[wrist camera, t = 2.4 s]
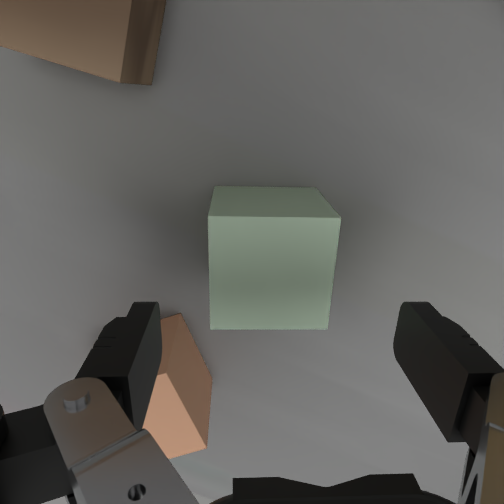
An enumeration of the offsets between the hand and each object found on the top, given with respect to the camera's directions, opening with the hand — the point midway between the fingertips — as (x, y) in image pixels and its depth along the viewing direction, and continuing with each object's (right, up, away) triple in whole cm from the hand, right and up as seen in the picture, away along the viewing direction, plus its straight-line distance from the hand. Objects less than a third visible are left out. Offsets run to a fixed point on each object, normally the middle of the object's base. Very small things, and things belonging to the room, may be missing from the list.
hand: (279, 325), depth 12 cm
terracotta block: (-7, -4, +10) cm, 13 cm away
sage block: (0, +3, +7) cm, 8 cm away
